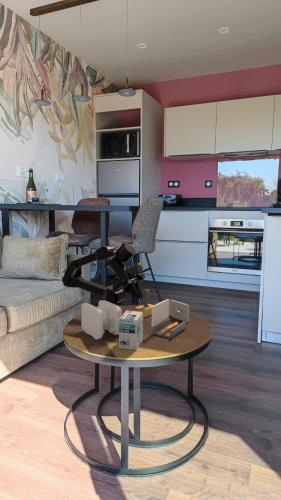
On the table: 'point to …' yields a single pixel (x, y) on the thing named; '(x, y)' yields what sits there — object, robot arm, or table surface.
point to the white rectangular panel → (160, 312)
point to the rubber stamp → (147, 307)
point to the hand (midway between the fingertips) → (141, 298)
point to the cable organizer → (100, 318)
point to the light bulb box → (130, 330)
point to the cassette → (181, 314)
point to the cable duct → (168, 329)
